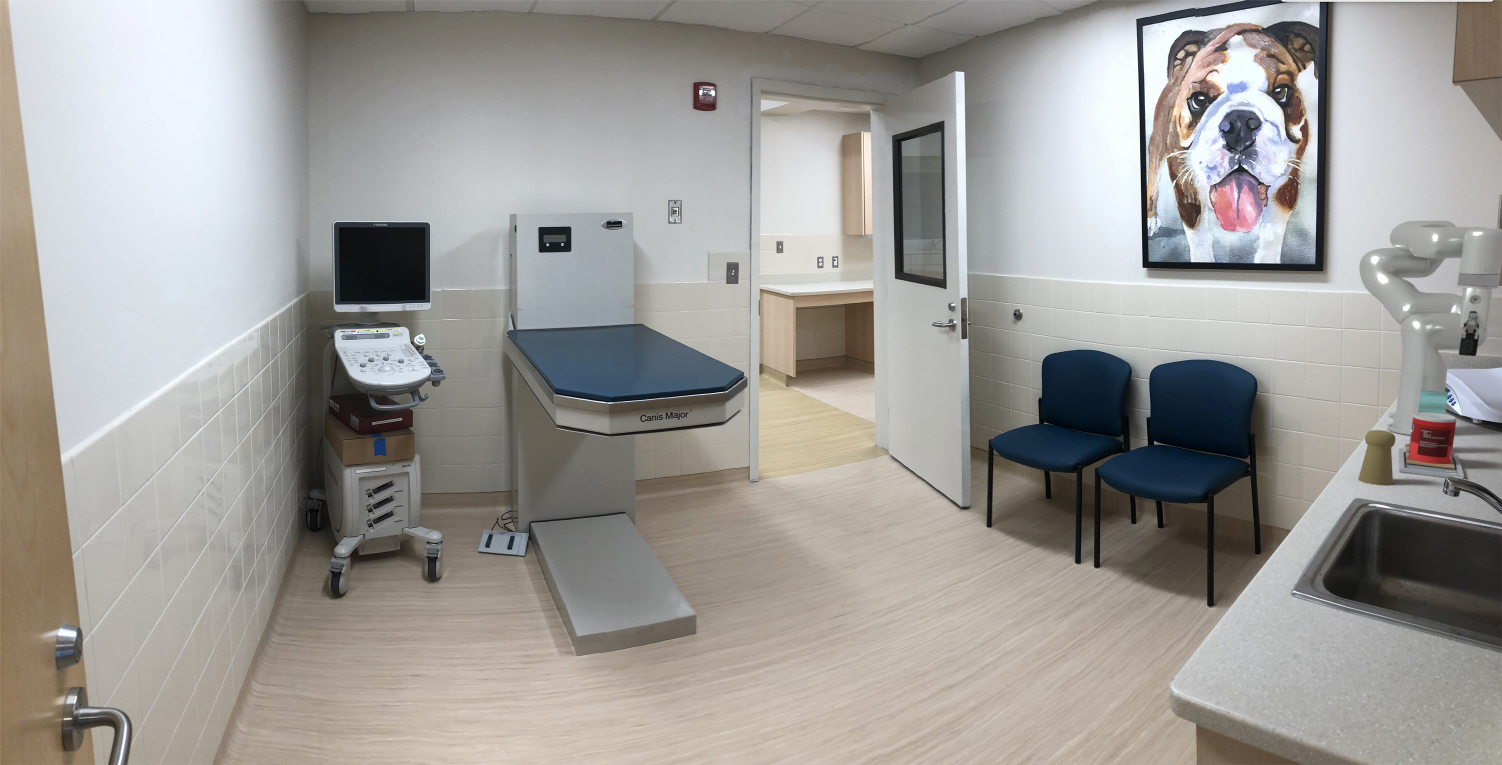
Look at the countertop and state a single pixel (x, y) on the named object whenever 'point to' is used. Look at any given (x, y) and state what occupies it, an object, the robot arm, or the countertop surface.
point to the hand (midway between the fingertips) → (1467, 352)
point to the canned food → (1432, 438)
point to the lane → (1429, 467)
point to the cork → (1378, 458)
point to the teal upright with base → (1431, 404)
